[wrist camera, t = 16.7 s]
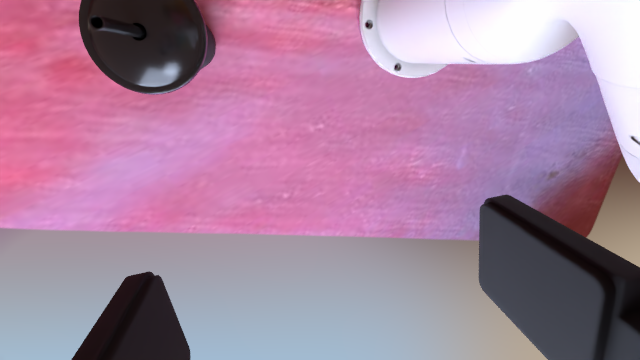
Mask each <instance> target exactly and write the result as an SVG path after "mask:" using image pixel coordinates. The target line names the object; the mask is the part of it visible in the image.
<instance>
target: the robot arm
mask: <svg viewBox="0 0 640 360" xmlns="http://www.w3.org/2000/svg"><path fill="white" fill-rule="evenodd" d="M359 22H360V32H361V36H362V40H363V43H364V45H365V47H366V49H367V52H368V53H369V54H370V56H371V57H372V59H373V60H374V61H375V62H376V63H377V64H378V65H379V66H380V67H381V68H383V69H384V70H386V71H387V72H389V73H391V74H394V75H397V76H400V77H406V78H418V77H424V76H428V75H430V74H433V73H435V72H437V71H439V70H441V69H442V68H444V67H445V66H447V65H448V64H520V63H527V62H532V61H536V60H539V59H542V58H545V57H547V56H549V55H551V54H553V53H555V52H557V51H559V50H561V49H563V48H564V47H566V46H567V45H569V44H570V43H571V42H573V41H574V40H575V39H577V38H578V37H580V39H581V42H582V44H583V46H584V49H585V52H586V54H587V57H588V60H589V63H590V66H591V69H592V71H593V73H594V74H595V75H596V78H597V81H598V84H599V87H600V90H601V93H602V96H603V99H604V102H605V105H606V108H607V111H608V114H609V117H610V120H611V123H612V126H613V129H614V132H615V135H616V138H617V141H618V143H619V146H620V149H621V151H622V154H623V156H624V158H625V160H626V163H627V165H628V167H629V169H630V171H631V172H632V174H633V175H634V176H635V178H636V179H637V180H638V181H639V183H640V0H362V1H361V5H360V14H359ZM366 23H368V24H369V27H368V28H367V27H366V26H365V24H366ZM394 65H396V66H397V68H396V69H394ZM479 283H480V286H481V288H482V289H483V291H484V292H485V293H486V294H487V295H488V296H489V297H490V299H491V300H492V301H493V302H494V303H495V304H496V305H497V306H498V307H499V308H500V309H501V310H502V311H503V312H504V313H505V314H506V316H507V317H508V318H509V319H510V320H511V321H512V322H513V323H514V324H515V325H516V326H517V327H518V328H519V329H520V330H521V331H522V333H523V334H524V335H525V336H526V337H527V338H528V339H529V340H530V341H531V342H532V343H533V344H534V345H535V346H536V348H537V349H538V350H540V352H541V353H542V354H543V355H544V356H545V357H546V358H547V359H548V360H640V267H638V266H636V265H634V264H632V263H631V262H629V261H627V260H625V259H623V258H622V257H620V256H618V255H616V254H614V253H612V252H611V251H609V250H607V249H605V248H604V247H602V246H600V245H598V244H596V243H594V242H593V241H591V240H589V239H587V238H585V237H584V236H582V235H580V234H578V233H576V232H575V231H573V230H571V229H569V228H567V227H566V226H564V225H562V224H560V223H558V222H557V221H555V220H553V219H551V218H549V217H548V216H546V215H544V214H542V213H540V212H539V211H537V210H535V209H533V208H531V207H530V206H528V205H526V204H524V203H522V202H520V201H519V200H517V199H515V198H513V197H511V196H509V195H502V196H497V197H493V198H488V199H486V200H485V202H484V204H483V205H482V206H481V207H480V233H479ZM72 360H190V349H189V346H188V343H187V341H186V338H185V336H184V333H183V331H182V328H181V326H180V323H179V321H178V318H177V316H176V313H175V311H174V308H173V306H172V303H171V301H170V298H169V296H168V293H167V291H166V289H165V286H164V283H163V281H162V279H161V277H160V276H159V275H156V276H154V274H153V273H152V272H146V273H141V274H136V275H131V276H128V277H126V278H125V279H124V281H123V282H122V284H121V286H120V287H119V289H118V290H117V292H116V293H115V295H114V296H113V298H112V299H111V301H110V302H109V304H108V305H107V307H106V308H105V310H104V311H103V313H102V314H101V316H100V317H99V319H98V320H97V322H96V323H95V325H94V326H93V328H92V329H91V331H90V332H89V334H88V336H87V337H86V339H85V340H84V342H83V343H82V345H81V346H80V348H79V349H78V351H77V352H76V354H75V356H74V357H73V358H72Z"/></svg>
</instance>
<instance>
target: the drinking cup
mask: <svg viewBox="0 0 640 360" xmlns="http://www.w3.org/2000/svg"><path fill="white" fill-rule="evenodd" d="M79 26H80V32H81V36H82V39H83V42H84V45H85V47H86V49H87V51H88V53H89V55H90V57H91V58H92V60H93V61H94V62H95V64H96V65H97V66H98V67H99V69H100V70H101V71H102V72H103V73H104V74H105V75H107V76H108V77H109V78H110V79H112V80H113V81H114V82H116V83H117V84H119V85H121V86H123V87H125V88H127V89H129V90H132V91H135V92H139V93H144V94H164V93H169V92H172V91H175V90H178V89H180V88H182V87H183V86H185V85H186V84H188V83H189V82H190V81H191V80H192V79H193V78H194V77H195V76H196V75H197V73H198V72H199V71H200V70H201V69H202V68H203V67H205V66H206V65H207V64H209V63H210V61H211V60H212V59H213V57H214V54H215V40H214V37H213V35H212V33H211V31H210V30H209V28H208V27H207V25H206V24H205V22H204V18H203V16H202V13H201V11H200V9H199V7H198V6H197V4H196V2H195V1H194V0H82V1H81V5H80V10H79Z"/></svg>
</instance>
